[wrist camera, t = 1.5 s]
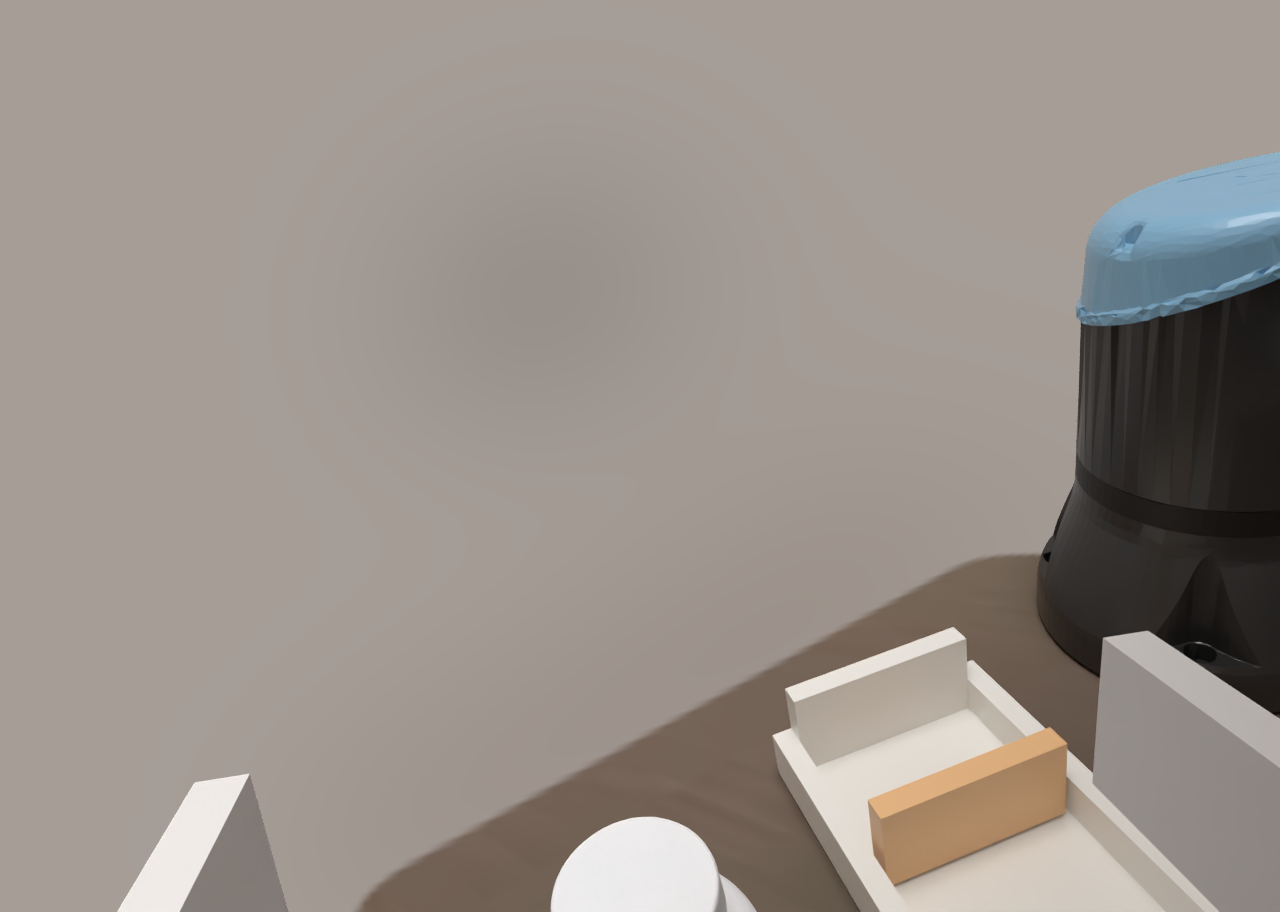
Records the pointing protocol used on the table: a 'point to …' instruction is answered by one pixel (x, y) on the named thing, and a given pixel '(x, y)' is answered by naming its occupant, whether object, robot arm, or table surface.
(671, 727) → the table surface
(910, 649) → the tray
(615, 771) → the table surface
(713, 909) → the supplement bottle
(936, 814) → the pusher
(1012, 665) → the table surface
